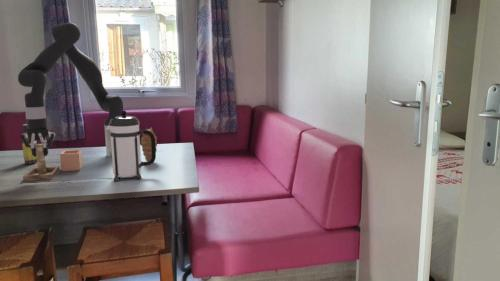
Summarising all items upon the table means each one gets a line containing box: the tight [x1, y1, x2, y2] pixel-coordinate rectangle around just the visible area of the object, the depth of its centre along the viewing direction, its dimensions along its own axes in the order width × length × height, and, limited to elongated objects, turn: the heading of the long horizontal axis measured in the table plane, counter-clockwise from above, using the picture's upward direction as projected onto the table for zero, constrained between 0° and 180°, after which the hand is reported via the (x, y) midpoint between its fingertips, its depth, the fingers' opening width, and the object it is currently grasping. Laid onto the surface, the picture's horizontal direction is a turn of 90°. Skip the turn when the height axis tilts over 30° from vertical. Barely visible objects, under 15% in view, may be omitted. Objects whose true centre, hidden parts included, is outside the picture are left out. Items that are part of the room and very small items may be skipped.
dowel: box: [35, 143, 47, 175], centre depth 166 cm, size 3×3×14 cm
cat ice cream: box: [140, 126, 158, 162], centre depth 193 cm, size 9×8×18 cm
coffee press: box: [106, 109, 157, 183], centre depth 166 cm, size 17×16×30 cm
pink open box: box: [59, 149, 84, 172], centre depth 179 cm, size 8×8×9 cm
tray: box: [22, 165, 61, 184], centre depth 167 cm, size 11×14×3 cm
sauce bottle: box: [21, 123, 37, 165], centre depth 191 cm, size 6×6×20 cm
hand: (40, 155), depth 166 cm, fingers open, 3 cm apart
